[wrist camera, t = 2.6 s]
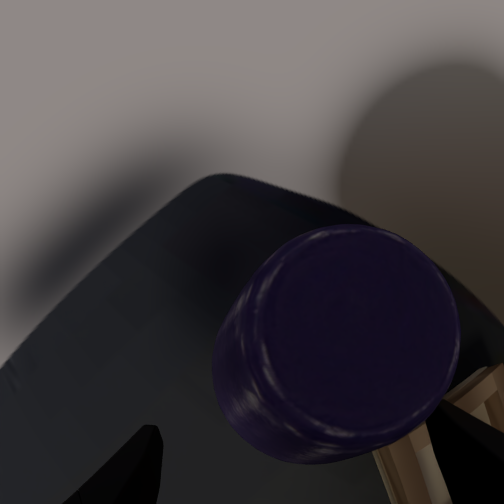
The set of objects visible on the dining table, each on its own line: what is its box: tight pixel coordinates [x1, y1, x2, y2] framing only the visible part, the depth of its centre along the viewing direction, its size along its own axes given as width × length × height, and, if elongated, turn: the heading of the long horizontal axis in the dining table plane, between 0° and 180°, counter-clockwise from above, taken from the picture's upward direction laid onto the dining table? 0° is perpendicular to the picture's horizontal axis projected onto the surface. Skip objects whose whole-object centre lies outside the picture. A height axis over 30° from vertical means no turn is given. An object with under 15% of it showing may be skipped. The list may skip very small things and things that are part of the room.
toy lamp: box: [212, 224, 461, 464], centre depth 11 cm, size 5×5×17 cm
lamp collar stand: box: [372, 363, 504, 504], centre depth 13 cm, size 11×11×3 cm
